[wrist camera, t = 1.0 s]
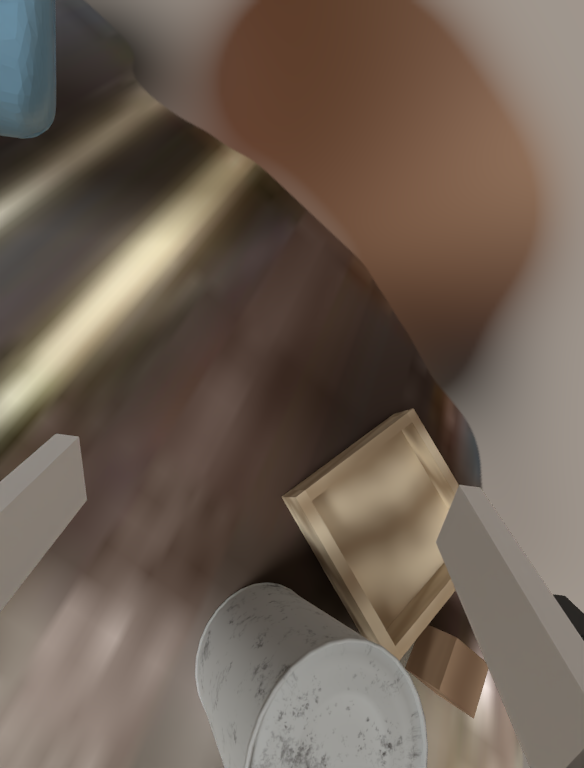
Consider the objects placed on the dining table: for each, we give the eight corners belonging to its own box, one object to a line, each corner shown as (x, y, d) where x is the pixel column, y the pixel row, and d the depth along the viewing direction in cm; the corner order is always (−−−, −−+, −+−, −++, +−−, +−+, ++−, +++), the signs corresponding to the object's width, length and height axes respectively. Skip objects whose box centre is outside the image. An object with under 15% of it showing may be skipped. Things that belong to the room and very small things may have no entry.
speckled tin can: (260, 555, 29) (336, 594, 18) (338, 636, 30) (456, 721, 19) (165, 672, 25) (191, 816, 14) (259, 765, 25) (355, 970, 15)
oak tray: (281, 496, 31) (295, 497, 28) (393, 414, 38) (413, 408, 35) (370, 652, 31) (393, 667, 28) (467, 539, 38) (493, 543, 35)
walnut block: (404, 667, 31) (439, 690, 28) (422, 622, 33) (457, 637, 30) (435, 693, 32) (473, 718, 28) (451, 646, 34) (489, 664, 30)
